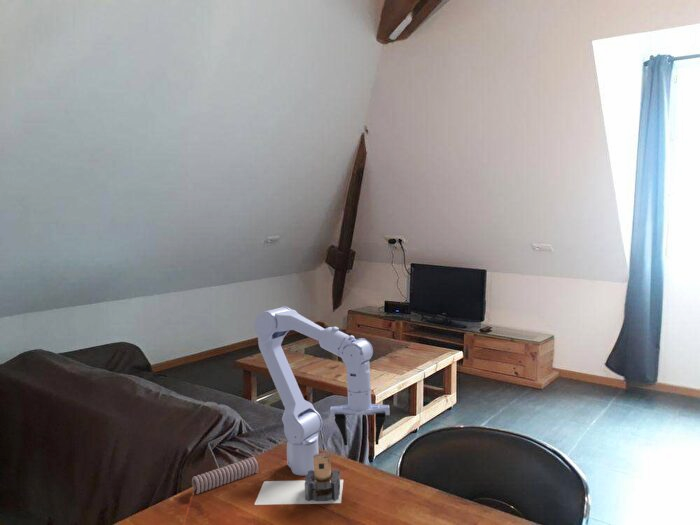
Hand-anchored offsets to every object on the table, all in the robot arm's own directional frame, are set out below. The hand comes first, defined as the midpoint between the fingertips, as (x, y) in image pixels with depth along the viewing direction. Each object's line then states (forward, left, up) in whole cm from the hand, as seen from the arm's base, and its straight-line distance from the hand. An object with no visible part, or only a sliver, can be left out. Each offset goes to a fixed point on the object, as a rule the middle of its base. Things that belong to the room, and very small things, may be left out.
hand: (361, 443), depth 139 cm
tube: (+1, -11, -9) cm, 15 cm away
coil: (-20, -29, -11) cm, 37 cm away
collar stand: (0, -11, -11) cm, 15 cm away
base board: (-3, -15, -11) cm, 19 cm away
